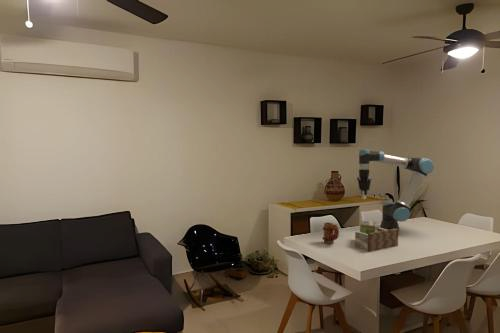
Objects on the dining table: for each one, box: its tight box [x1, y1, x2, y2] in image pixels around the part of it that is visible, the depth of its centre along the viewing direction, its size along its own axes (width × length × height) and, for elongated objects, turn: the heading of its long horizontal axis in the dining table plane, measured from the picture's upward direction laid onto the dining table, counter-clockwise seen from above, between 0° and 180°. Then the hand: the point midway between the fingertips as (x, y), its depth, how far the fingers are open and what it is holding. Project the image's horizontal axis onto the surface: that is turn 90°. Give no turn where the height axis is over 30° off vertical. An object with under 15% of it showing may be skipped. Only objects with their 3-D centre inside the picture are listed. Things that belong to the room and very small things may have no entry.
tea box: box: [359, 220, 376, 234], centre depth 252 cm, size 15×10×15 cm, turn 162°
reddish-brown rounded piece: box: [322, 222, 340, 245], centre depth 248 cm, size 15×8×15 cm, turn 23°
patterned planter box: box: [354, 227, 399, 253], centre depth 243 cm, size 28×14×12 cm, turn 119°
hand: (364, 198), depth 273 cm, fingers closed
